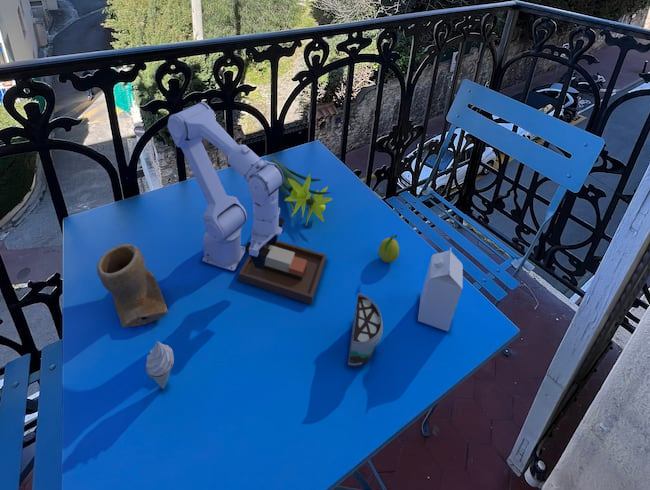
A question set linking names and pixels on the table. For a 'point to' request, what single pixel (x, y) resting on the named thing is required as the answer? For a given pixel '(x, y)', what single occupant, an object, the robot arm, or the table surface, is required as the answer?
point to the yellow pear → (389, 249)
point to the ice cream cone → (160, 363)
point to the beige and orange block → (285, 263)
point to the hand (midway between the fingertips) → (265, 255)
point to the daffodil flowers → (302, 193)
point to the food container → (364, 331)
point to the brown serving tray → (285, 284)
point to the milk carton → (441, 290)
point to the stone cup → (131, 286)
